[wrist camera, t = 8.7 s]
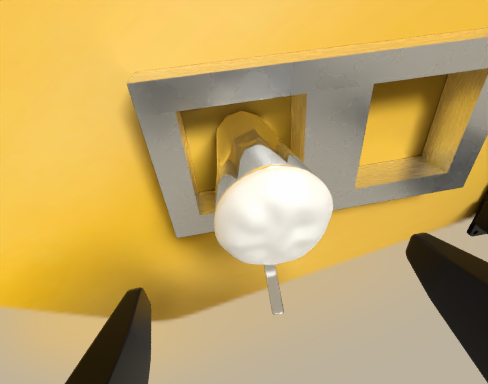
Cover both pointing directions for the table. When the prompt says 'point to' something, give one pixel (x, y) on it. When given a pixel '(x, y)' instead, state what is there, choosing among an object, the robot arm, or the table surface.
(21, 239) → the table surface
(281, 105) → the table surface
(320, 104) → the block
